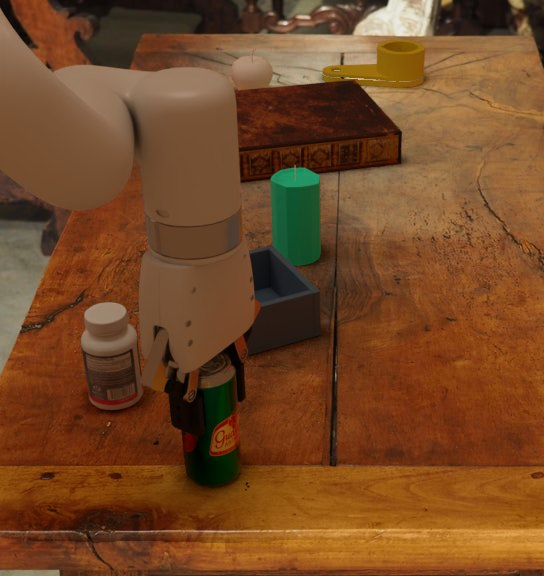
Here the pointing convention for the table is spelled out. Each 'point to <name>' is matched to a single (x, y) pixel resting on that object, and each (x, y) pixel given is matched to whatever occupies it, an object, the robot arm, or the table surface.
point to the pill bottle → (111, 357)
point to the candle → (296, 215)
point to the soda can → (215, 426)
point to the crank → (386, 66)
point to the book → (312, 129)
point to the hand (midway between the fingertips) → (209, 411)
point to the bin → (281, 302)
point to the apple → (251, 72)
